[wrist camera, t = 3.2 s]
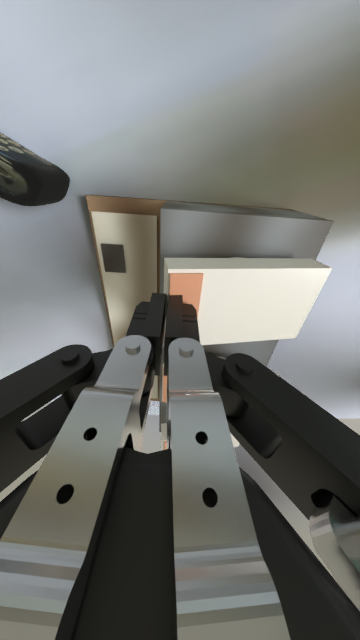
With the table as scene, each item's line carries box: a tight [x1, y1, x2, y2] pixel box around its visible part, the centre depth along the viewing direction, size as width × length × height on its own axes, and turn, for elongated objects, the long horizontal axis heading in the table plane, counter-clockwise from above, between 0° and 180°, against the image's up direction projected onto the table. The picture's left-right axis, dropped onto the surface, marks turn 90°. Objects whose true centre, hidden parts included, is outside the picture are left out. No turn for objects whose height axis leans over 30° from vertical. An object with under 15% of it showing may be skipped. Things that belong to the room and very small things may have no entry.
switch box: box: [86, 195, 333, 432], centre depth 21 cm, size 16×26×6 cm, turn 176°
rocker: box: [164, 257, 332, 345], centre depth 12 cm, size 9×5×3 cm, turn 87°
